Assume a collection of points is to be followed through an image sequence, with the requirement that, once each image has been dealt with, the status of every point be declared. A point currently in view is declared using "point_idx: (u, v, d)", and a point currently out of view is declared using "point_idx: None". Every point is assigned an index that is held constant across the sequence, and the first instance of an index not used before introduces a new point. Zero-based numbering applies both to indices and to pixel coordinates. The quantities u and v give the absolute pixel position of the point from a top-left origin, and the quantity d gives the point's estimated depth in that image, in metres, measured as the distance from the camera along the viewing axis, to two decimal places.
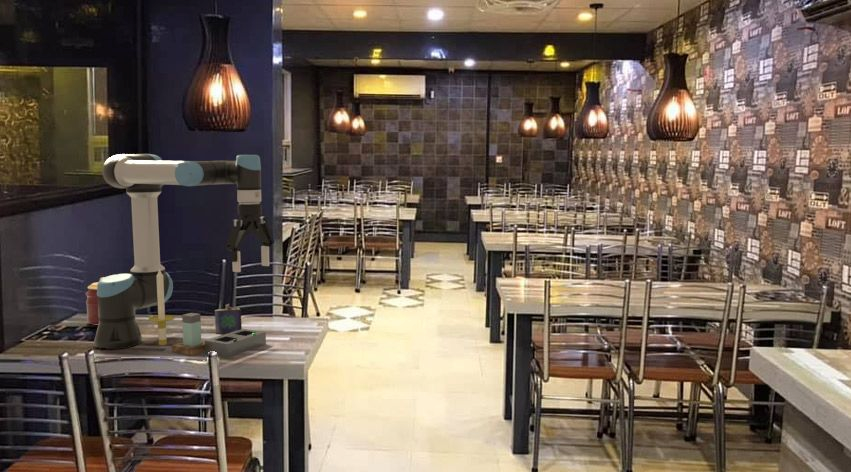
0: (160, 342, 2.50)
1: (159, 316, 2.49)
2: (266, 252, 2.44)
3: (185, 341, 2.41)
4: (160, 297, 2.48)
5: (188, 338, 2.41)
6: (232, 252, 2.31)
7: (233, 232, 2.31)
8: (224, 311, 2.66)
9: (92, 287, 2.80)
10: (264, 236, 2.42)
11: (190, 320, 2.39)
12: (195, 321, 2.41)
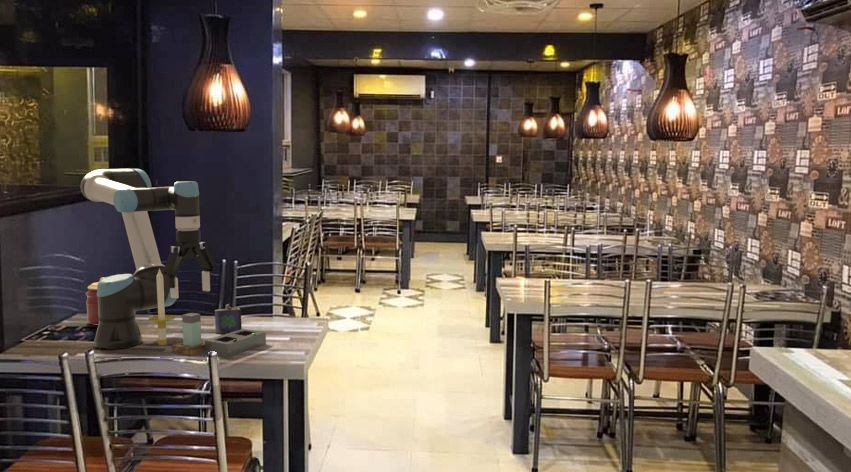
0: (160, 342, 2.50)
1: (159, 316, 2.49)
2: (206, 277, 2.45)
3: (185, 341, 2.41)
4: (160, 297, 2.48)
5: (188, 338, 2.41)
6: (169, 279, 2.33)
7: (170, 259, 2.32)
8: (224, 311, 2.66)
9: (92, 287, 2.80)
10: (204, 262, 2.44)
11: (190, 320, 2.39)
12: (195, 321, 2.41)
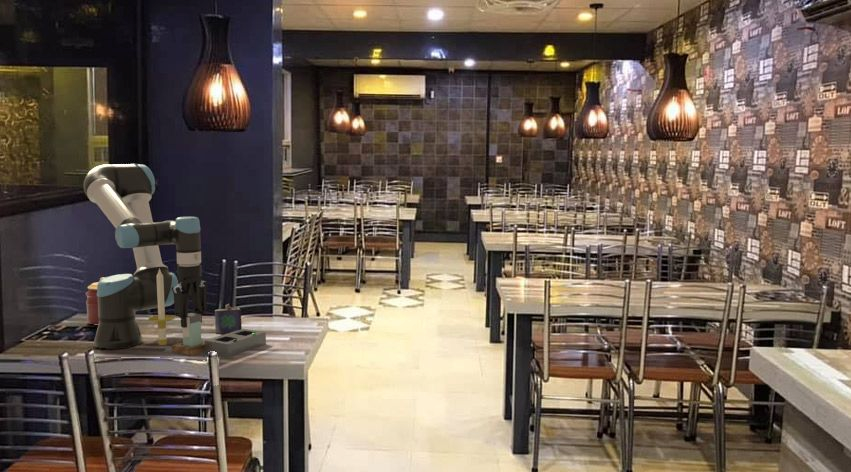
0: (160, 342, 2.50)
1: (159, 316, 2.49)
2: None
3: (185, 341, 2.41)
4: (160, 297, 2.48)
5: (188, 338, 2.41)
6: (181, 318, 2.38)
7: (176, 300, 2.36)
8: (224, 311, 2.66)
9: (92, 287, 2.80)
10: (199, 301, 2.43)
11: (190, 320, 2.39)
12: (195, 321, 2.41)
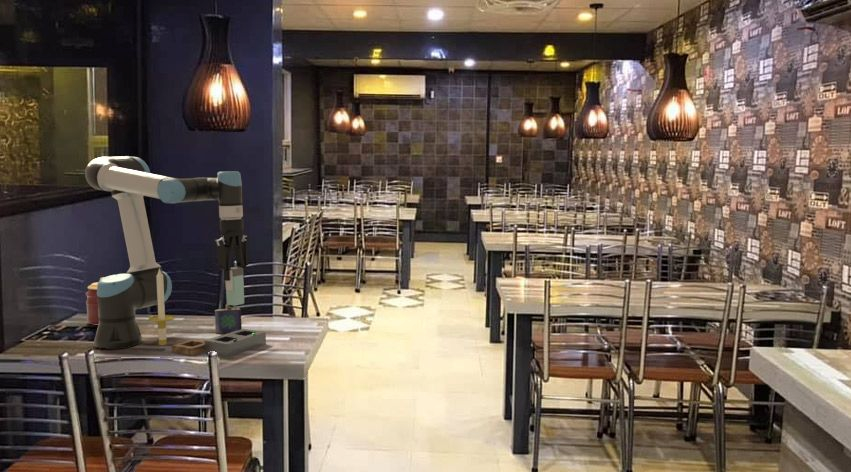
0: (160, 342, 2.50)
1: (159, 316, 2.49)
2: None
3: (228, 294, 2.44)
4: (160, 297, 2.48)
5: (231, 291, 2.43)
6: (225, 271, 2.41)
7: (219, 253, 2.39)
8: (224, 311, 2.66)
9: (92, 287, 2.80)
10: (241, 255, 2.45)
11: (233, 274, 2.42)
12: (238, 274, 2.43)
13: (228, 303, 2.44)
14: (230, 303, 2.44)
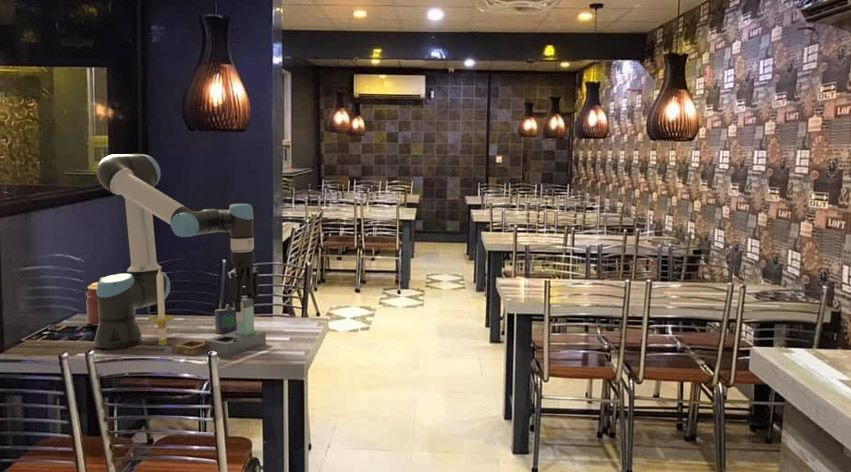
0: (160, 342, 2.50)
1: (159, 316, 2.49)
2: None
3: (238, 325, 2.47)
4: (160, 297, 2.48)
5: (241, 322, 2.46)
6: (236, 303, 2.44)
7: (231, 285, 2.41)
8: (224, 311, 2.66)
9: (92, 287, 2.80)
10: (251, 287, 2.48)
11: (243, 305, 2.45)
12: (248, 306, 2.46)
13: (238, 334, 2.47)
14: (240, 334, 2.47)
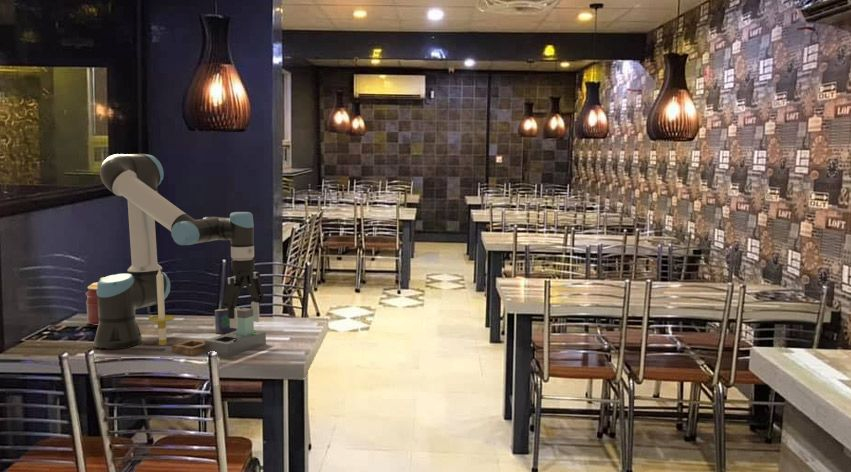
0: (160, 342, 2.50)
1: (159, 316, 2.49)
2: (256, 308, 2.52)
3: None
4: (160, 297, 2.48)
5: (241, 332, 2.47)
6: (229, 309, 2.42)
7: (228, 290, 2.40)
8: (224, 311, 2.66)
9: (92, 287, 2.80)
10: (255, 292, 2.50)
11: (243, 315, 2.45)
12: (248, 316, 2.47)
13: None
14: None
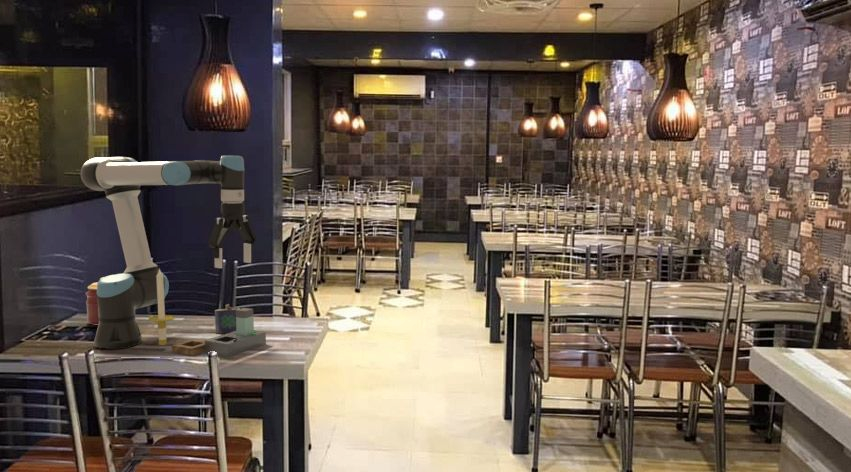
0: (160, 342, 2.50)
1: (159, 316, 2.49)
2: (248, 249, 2.54)
3: None
4: (160, 297, 2.48)
5: (241, 332, 2.47)
6: (214, 249, 2.41)
7: (215, 230, 2.41)
8: (224, 311, 2.66)
9: (92, 287, 2.80)
10: (246, 234, 2.52)
11: (243, 315, 2.45)
12: (248, 316, 2.47)
13: None
14: None
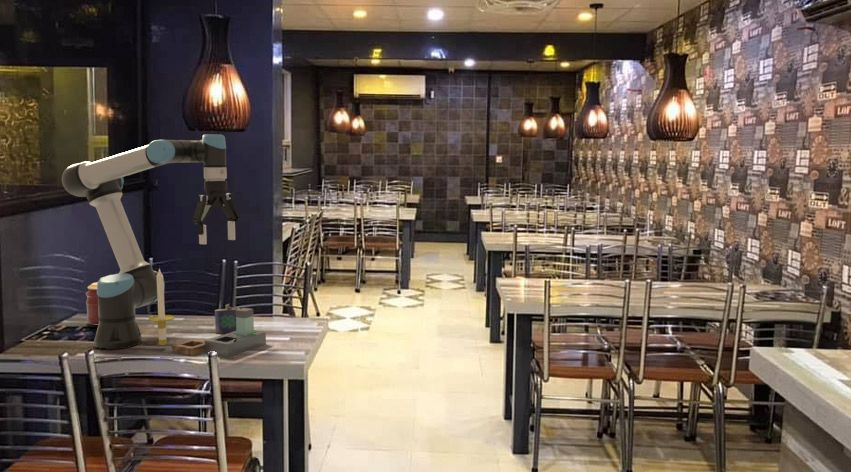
0: (160, 342, 2.50)
1: (159, 316, 2.49)
2: (232, 227, 2.59)
3: None
4: (160, 297, 2.48)
5: (241, 332, 2.47)
6: (198, 225, 2.46)
7: (199, 207, 2.46)
8: (224, 311, 2.66)
9: (92, 287, 2.80)
10: (230, 211, 2.57)
11: (243, 315, 2.45)
12: (248, 316, 2.47)
13: None
14: None
